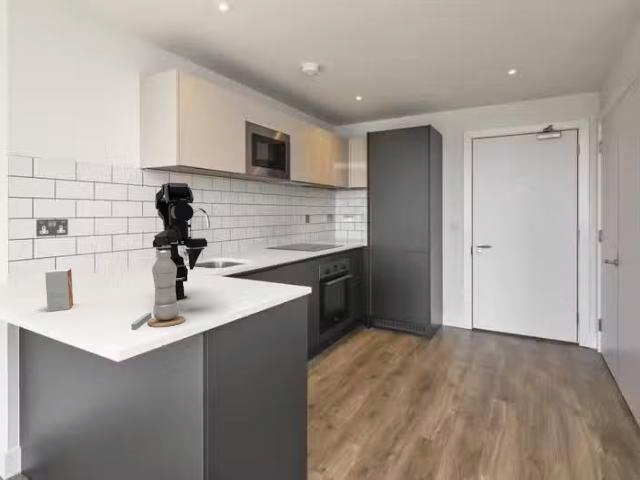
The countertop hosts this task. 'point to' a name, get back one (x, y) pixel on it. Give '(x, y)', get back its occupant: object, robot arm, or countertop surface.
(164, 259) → the plastic bottle
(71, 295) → the small box
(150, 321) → the coaster
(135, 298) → the countertop surface
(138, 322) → the sill
